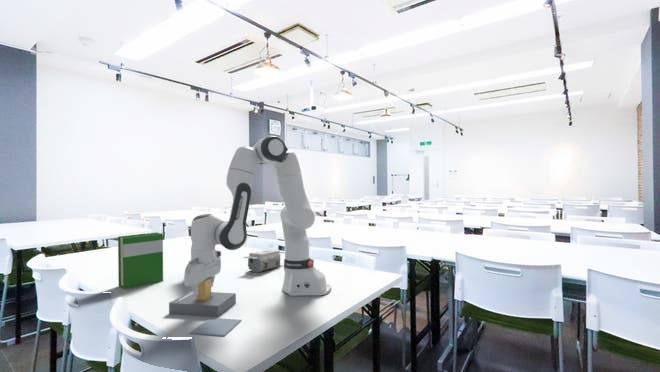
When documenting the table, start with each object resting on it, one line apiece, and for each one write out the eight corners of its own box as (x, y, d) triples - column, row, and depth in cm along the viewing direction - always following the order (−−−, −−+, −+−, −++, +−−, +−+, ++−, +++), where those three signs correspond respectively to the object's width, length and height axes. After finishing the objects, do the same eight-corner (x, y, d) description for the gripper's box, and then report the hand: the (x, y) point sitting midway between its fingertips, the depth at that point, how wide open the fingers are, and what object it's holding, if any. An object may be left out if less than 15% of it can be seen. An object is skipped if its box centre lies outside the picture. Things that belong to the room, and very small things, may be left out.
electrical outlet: (239, 272, 178) (240, 254, 178) (270, 264, 203) (271, 248, 204) (257, 274, 173) (257, 255, 173) (286, 266, 198) (287, 249, 199)
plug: (211, 306, 129) (210, 276, 129) (205, 310, 125) (205, 279, 125) (202, 306, 130) (201, 276, 130) (196, 309, 126) (195, 278, 126)
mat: (241, 320, 115) (241, 319, 115) (224, 336, 103) (224, 335, 103) (210, 318, 117) (210, 317, 117) (190, 333, 106) (190, 332, 106)
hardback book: (123, 289, 152) (123, 238, 152) (118, 286, 157) (118, 236, 157) (163, 281, 165) (162, 233, 165) (157, 278, 170) (156, 232, 170)
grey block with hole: (235, 303, 133) (235, 292, 133) (218, 316, 119) (218, 305, 119) (191, 300, 136) (191, 290, 136) (169, 313, 123) (169, 302, 123)
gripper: (195, 262, 117) (195, 300, 117) (223, 251, 137) (223, 283, 137) (179, 261, 118) (179, 299, 118) (209, 250, 138) (210, 283, 138)
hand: (203, 291), depth 128 cm, fingers open, 8 cm apart
